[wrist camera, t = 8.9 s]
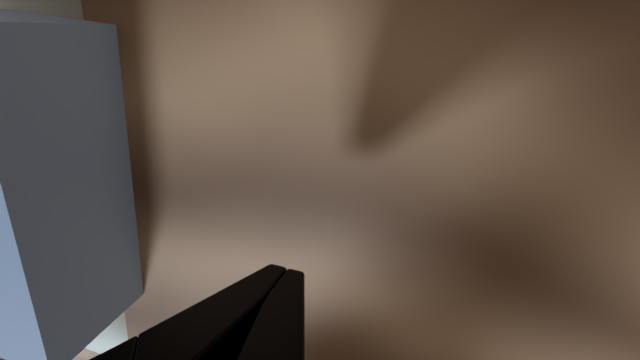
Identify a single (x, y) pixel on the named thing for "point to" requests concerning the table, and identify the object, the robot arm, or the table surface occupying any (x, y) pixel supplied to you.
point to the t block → (63, 187)
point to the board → (389, 168)
